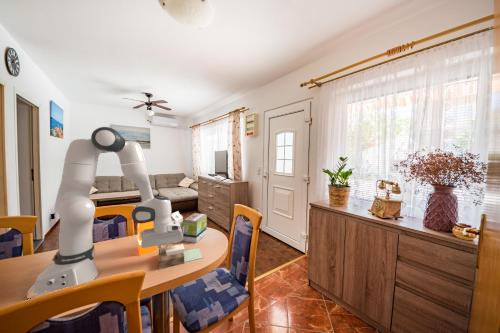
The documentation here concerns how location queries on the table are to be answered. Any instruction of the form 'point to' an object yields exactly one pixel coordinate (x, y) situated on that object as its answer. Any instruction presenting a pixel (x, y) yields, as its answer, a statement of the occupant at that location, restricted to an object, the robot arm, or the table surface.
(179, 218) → the milk carton
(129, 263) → the table surface
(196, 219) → the tea box
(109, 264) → the table surface
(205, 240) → the table surface
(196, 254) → the mat
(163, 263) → the block
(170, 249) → the beige flat block
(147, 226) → the orange juice
